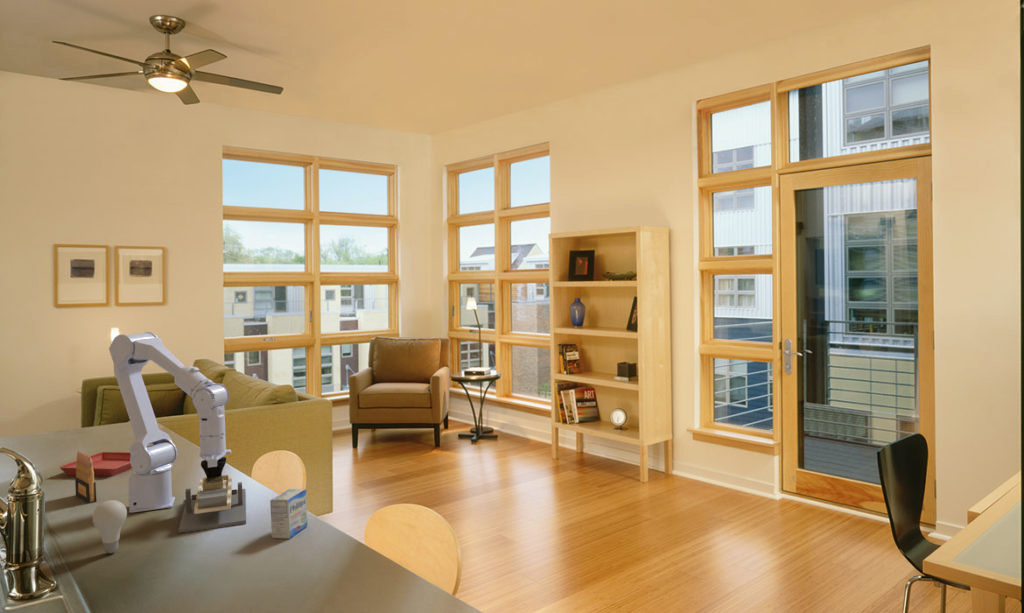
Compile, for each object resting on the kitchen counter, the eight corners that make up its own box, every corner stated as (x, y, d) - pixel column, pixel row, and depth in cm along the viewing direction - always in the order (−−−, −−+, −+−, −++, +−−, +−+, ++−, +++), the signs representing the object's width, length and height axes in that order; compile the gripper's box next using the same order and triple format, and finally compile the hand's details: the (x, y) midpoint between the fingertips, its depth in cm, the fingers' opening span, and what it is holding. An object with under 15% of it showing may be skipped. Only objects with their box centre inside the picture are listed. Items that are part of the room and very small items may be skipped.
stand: (246, 523, 151) (245, 498, 150) (178, 533, 145) (177, 507, 145) (245, 491, 175) (244, 469, 174) (187, 499, 169) (186, 476, 169)
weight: (223, 497, 156) (222, 481, 156) (203, 500, 154) (202, 484, 154) (223, 491, 160) (223, 475, 160) (204, 493, 158) (203, 478, 158)
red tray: (154, 462, 208) (154, 452, 208) (114, 479, 190) (114, 467, 190) (102, 461, 210) (101, 451, 210) (57, 478, 192) (57, 467, 192)
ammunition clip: (96, 501, 169) (94, 456, 168) (88, 503, 167) (86, 457, 167) (83, 493, 176) (81, 449, 175) (75, 495, 174) (73, 451, 174)
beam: (236, 508, 151) (235, 494, 151) (188, 515, 147) (188, 500, 147) (237, 481, 172) (236, 468, 172) (195, 486, 168) (194, 473, 168)
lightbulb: (92, 561, 131) (90, 507, 131) (95, 550, 136) (93, 499, 136) (127, 555, 134) (125, 502, 133) (129, 545, 139) (127, 494, 139)
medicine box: (289, 539, 141) (288, 500, 140) (271, 538, 141) (269, 499, 141) (308, 526, 148) (306, 488, 148) (290, 525, 149) (289, 487, 149)
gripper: (229, 438, 155) (232, 495, 155) (230, 426, 168) (232, 478, 169) (197, 442, 152) (199, 499, 152) (200, 429, 165) (202, 482, 166)
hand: (214, 488), depth 160 cm, fingers closed
